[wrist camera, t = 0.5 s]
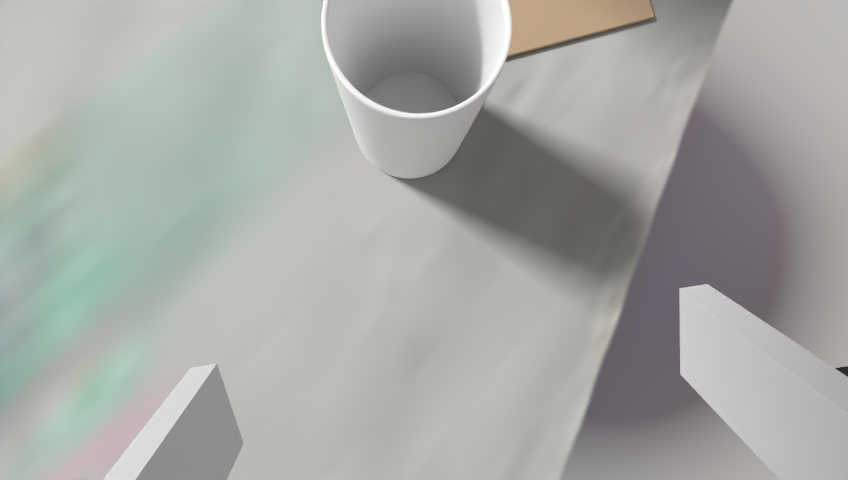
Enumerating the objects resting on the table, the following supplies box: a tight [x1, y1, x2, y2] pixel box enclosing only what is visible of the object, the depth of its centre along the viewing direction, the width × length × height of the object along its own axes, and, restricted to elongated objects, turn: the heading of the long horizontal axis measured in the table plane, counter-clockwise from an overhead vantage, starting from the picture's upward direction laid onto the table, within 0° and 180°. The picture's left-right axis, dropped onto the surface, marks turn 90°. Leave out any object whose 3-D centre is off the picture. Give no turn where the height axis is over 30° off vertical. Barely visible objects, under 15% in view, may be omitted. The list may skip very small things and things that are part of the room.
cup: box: [321, 0, 512, 179], centre depth 29 cm, size 8×8×16 cm
